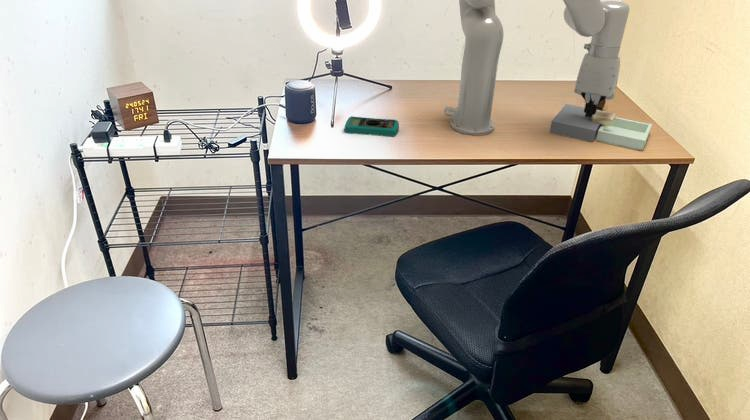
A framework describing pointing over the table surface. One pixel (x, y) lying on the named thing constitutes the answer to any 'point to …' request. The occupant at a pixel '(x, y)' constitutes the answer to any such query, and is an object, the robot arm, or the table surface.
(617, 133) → the box
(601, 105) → the tin
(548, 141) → the table surface
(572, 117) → the plate
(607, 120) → the block
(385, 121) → the digital multimeter
